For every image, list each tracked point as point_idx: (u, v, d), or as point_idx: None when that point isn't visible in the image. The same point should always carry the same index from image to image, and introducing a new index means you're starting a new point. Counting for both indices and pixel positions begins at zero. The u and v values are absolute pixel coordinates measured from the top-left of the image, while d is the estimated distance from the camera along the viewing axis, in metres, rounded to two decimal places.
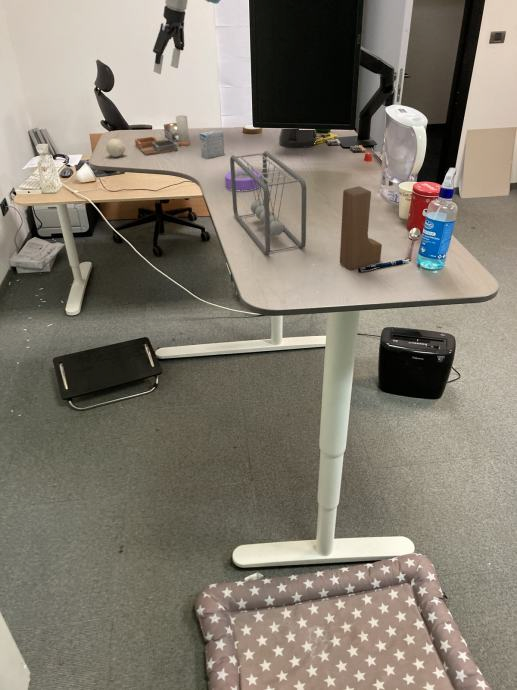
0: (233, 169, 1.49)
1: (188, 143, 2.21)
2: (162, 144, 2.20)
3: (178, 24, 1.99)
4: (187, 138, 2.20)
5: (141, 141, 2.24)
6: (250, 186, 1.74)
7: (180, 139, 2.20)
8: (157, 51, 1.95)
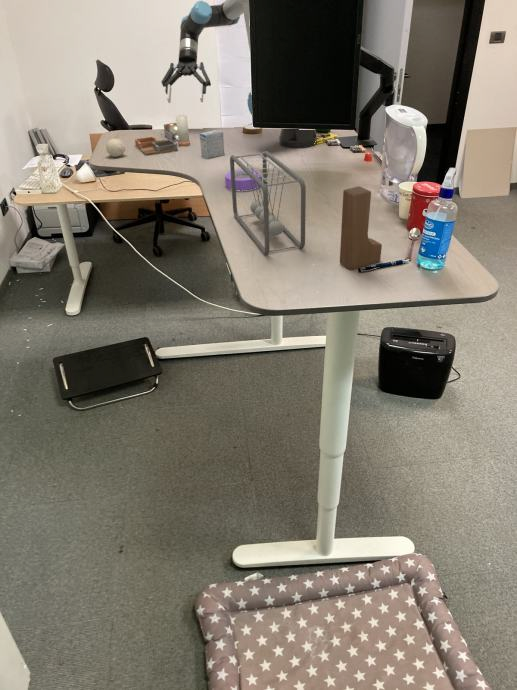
0: (233, 169, 1.49)
1: (188, 143, 2.21)
2: (162, 144, 2.20)
3: (192, 63, 2.24)
4: (187, 138, 2.20)
5: (141, 141, 2.24)
6: (250, 186, 1.74)
7: (180, 139, 2.20)
8: None
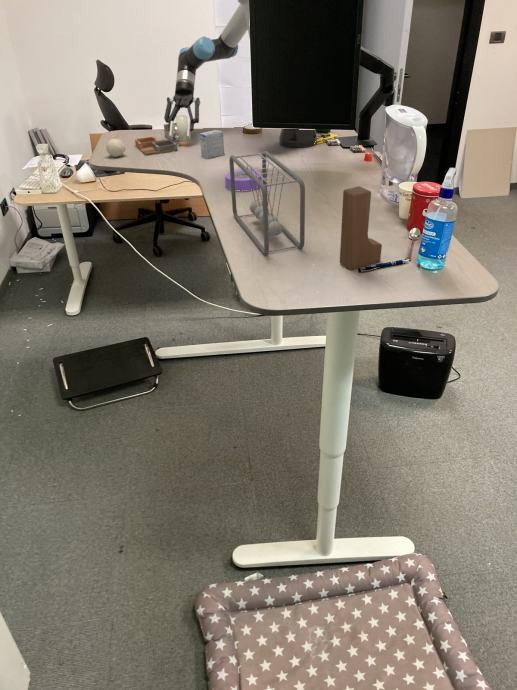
0: (232, 169, 1.49)
1: (188, 143, 2.21)
2: (162, 144, 2.20)
3: (189, 95, 2.20)
4: (187, 138, 2.20)
5: (141, 141, 2.24)
6: (250, 186, 1.74)
7: (180, 139, 2.20)
8: None
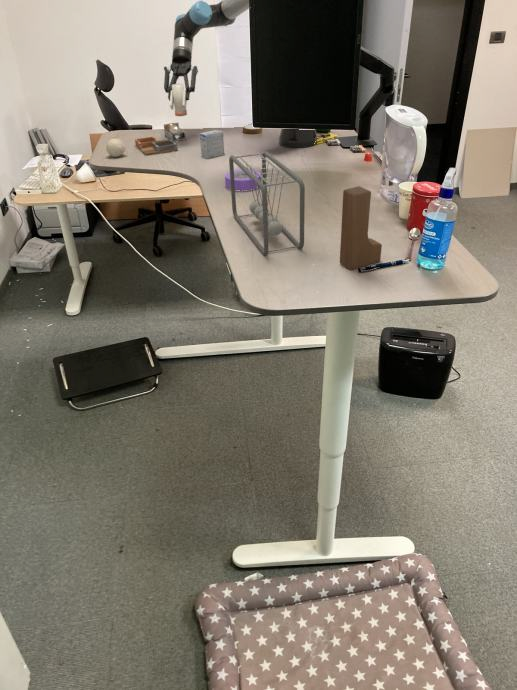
0: (232, 169, 1.49)
1: (185, 112, 2.15)
2: (162, 144, 2.20)
3: (187, 63, 2.13)
4: None
5: (141, 141, 2.24)
6: (250, 186, 1.74)
7: (176, 108, 2.13)
8: None
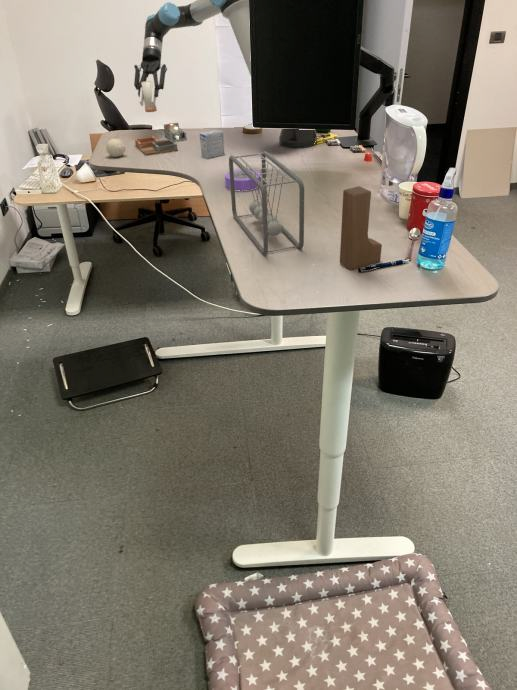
0: (232, 169, 1.49)
1: (154, 109, 2.25)
2: (162, 144, 2.20)
3: (156, 61, 2.24)
4: None
5: (141, 141, 2.24)
6: (250, 186, 1.74)
7: (146, 105, 2.24)
8: None
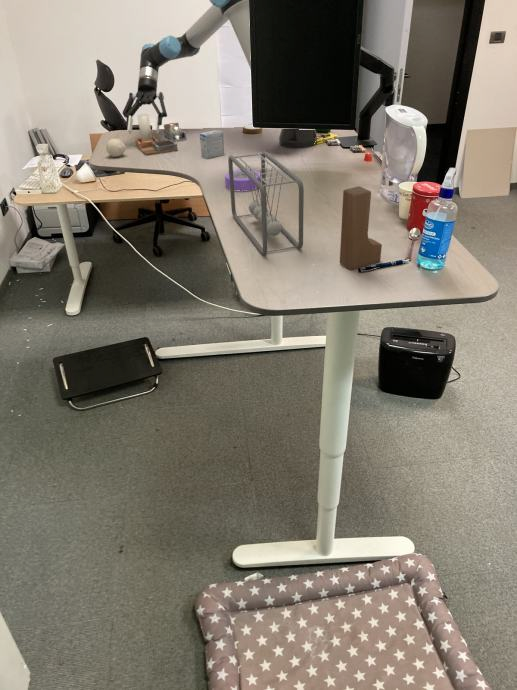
0: (231, 169, 1.49)
1: None
2: (162, 144, 2.20)
3: (151, 92, 2.19)
4: (150, 137, 2.21)
5: None
6: None
7: (143, 138, 2.20)
8: None
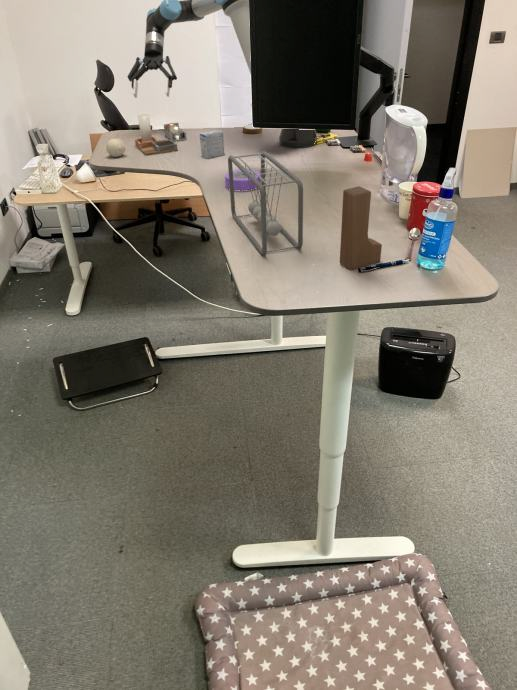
0: (231, 169, 1.49)
1: None
2: (162, 144, 2.20)
3: (158, 57, 2.23)
4: (150, 137, 2.21)
5: None
6: None
7: (143, 138, 2.20)
8: None
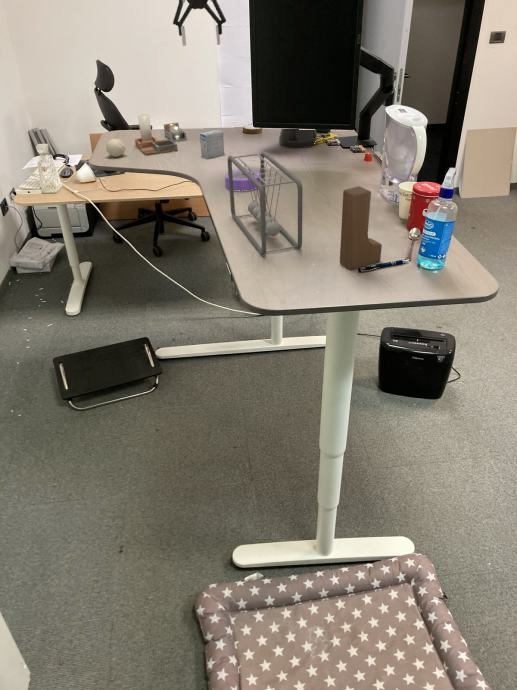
0: (230, 169, 1.49)
1: None
2: (162, 144, 2.20)
3: None
4: (150, 137, 2.21)
5: None
6: (250, 186, 1.74)
7: (143, 138, 2.20)
8: None
